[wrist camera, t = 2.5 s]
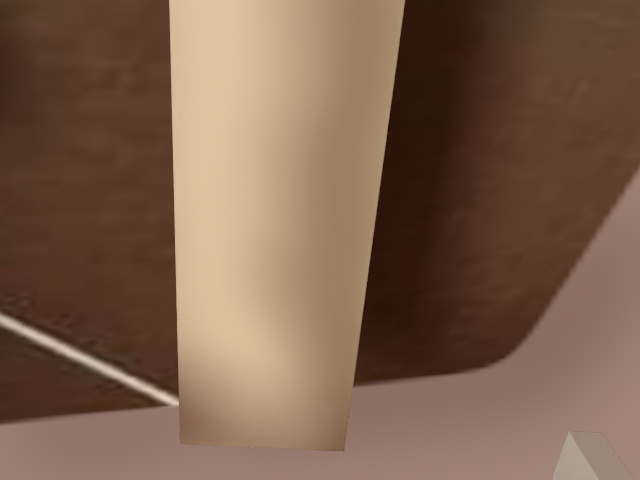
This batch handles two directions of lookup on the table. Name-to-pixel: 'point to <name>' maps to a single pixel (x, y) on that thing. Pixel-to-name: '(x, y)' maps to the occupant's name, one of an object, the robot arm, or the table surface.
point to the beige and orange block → (275, 210)
